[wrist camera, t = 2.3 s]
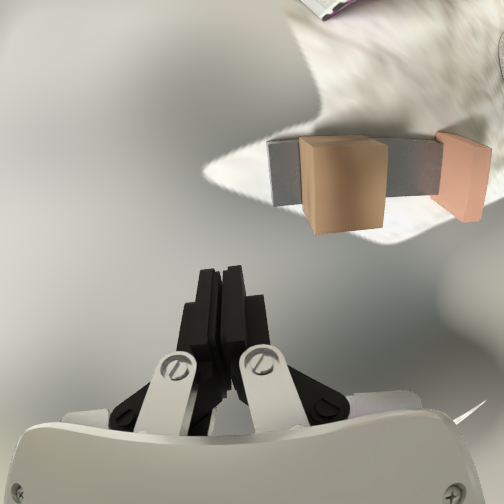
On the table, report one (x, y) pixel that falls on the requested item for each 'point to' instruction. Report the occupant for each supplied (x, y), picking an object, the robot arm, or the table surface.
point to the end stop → (463, 176)
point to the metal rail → (398, 172)
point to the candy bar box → (326, 7)
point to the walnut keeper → (343, 182)
